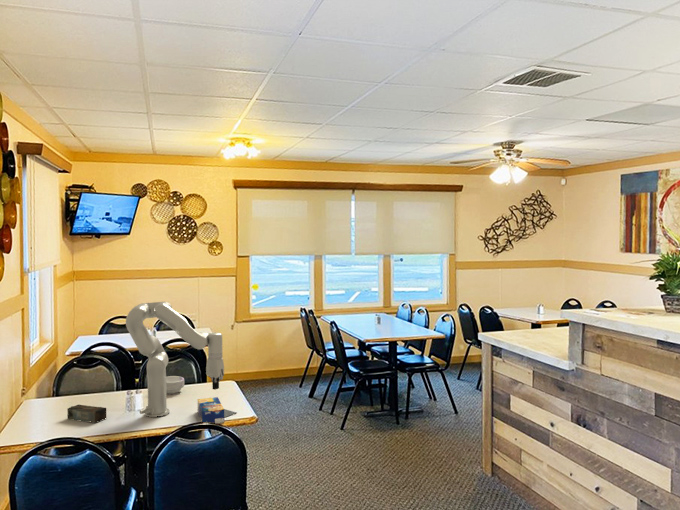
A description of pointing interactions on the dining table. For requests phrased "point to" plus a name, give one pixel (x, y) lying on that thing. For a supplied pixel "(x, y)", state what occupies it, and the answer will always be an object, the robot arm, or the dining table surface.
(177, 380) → the paper bowls
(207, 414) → the blue rectangular box
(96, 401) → the dining table surface
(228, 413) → the rubber mat
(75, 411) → the dark grey rectangular block
